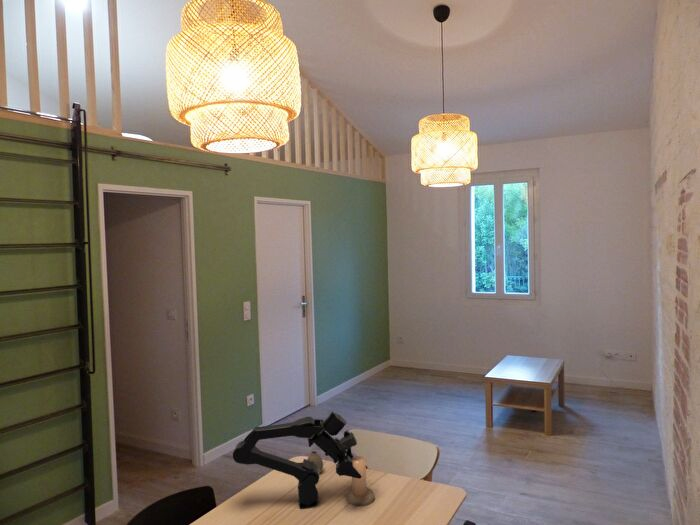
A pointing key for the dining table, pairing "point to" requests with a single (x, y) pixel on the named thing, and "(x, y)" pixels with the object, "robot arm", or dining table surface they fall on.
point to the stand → (360, 498)
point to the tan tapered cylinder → (361, 483)
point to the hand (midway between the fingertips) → (360, 471)
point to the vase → (316, 460)
